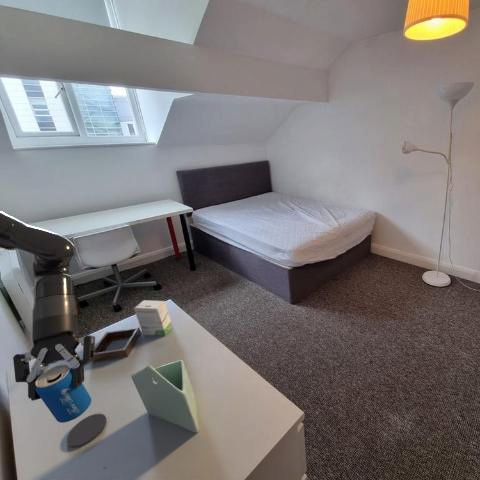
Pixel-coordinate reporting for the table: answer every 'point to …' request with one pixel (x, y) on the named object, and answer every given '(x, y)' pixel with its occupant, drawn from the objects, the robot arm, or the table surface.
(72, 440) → the coaster
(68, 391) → the beverage can
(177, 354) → the table surface
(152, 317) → the ink box
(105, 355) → the tray
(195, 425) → the planter
